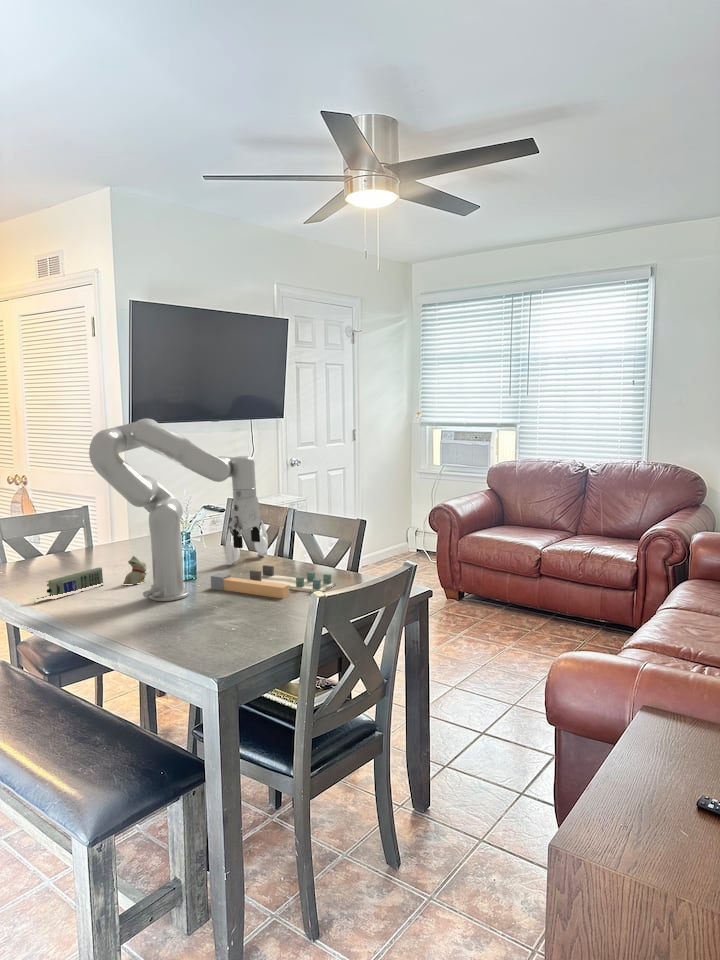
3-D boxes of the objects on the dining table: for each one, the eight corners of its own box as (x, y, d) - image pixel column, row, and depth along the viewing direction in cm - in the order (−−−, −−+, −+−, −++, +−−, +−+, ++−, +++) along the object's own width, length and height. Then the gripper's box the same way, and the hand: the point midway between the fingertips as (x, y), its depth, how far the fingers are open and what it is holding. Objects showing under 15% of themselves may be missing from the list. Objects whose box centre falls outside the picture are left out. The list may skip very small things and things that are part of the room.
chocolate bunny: (147, 584, 232) (145, 556, 230) (123, 586, 229) (121, 558, 228) (147, 580, 237) (145, 553, 236) (123, 582, 235) (122, 554, 233)
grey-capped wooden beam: (282, 599, 213) (282, 585, 212) (211, 588, 225) (210, 576, 225) (290, 595, 216) (289, 582, 216) (219, 585, 229) (218, 572, 229)
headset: (233, 567, 254) (232, 521, 252) (221, 564, 258) (220, 519, 256) (271, 557, 269) (270, 514, 267) (259, 554, 274) (258, 512, 272)
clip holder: (321, 593, 218) (321, 580, 217) (246, 583, 231) (246, 571, 231) (335, 585, 227) (335, 573, 226) (263, 576, 240) (262, 564, 239)
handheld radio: (105, 586, 231) (38, 605, 209) (98, 585, 232) (32, 604, 211) (103, 567, 230) (36, 585, 209) (97, 567, 232) (30, 584, 210)
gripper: (237, 498, 208) (240, 551, 210) (268, 490, 223) (271, 540, 225) (218, 497, 211) (221, 549, 213) (250, 489, 227) (253, 538, 229)
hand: (247, 544), depth 219 cm, fingers open, 9 cm apart
